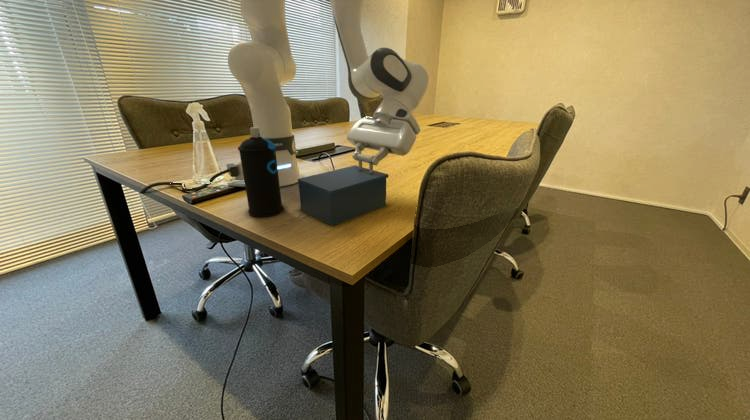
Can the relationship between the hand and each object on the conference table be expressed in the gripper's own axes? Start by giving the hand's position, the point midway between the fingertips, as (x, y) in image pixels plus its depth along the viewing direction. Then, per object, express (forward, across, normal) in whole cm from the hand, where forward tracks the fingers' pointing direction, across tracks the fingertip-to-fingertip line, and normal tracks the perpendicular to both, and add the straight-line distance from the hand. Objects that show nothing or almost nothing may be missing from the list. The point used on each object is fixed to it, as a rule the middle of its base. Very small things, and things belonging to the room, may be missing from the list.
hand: (363, 161), depth 77 cm
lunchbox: (+13, 0, +3) cm, 13 cm away
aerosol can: (+23, -12, -8) cm, 27 cm away
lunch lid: (+7, 0, -2) cm, 7 cm away
